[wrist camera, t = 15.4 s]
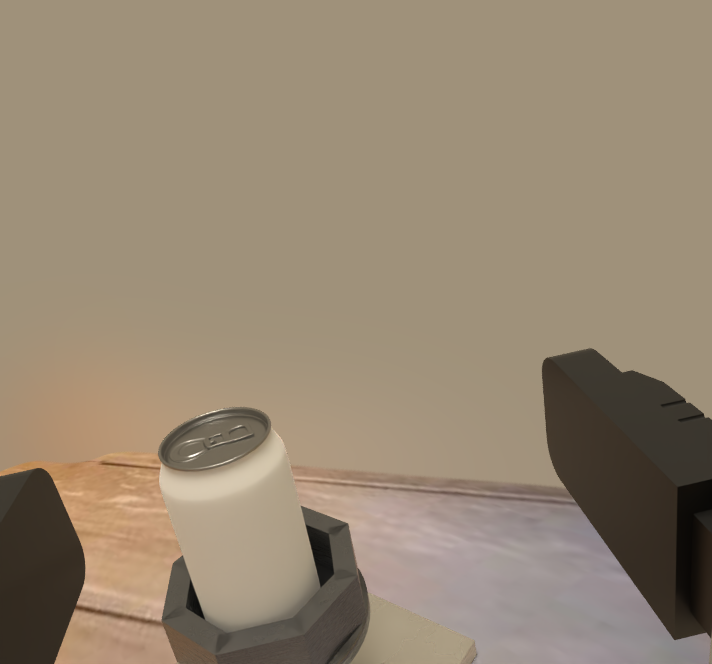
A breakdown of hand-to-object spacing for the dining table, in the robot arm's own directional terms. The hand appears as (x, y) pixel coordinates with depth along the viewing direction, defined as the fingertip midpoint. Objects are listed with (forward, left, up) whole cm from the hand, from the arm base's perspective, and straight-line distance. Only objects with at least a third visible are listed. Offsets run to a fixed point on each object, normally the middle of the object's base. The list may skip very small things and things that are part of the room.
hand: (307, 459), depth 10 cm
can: (-10, -18, -22) cm, 30 cm away
